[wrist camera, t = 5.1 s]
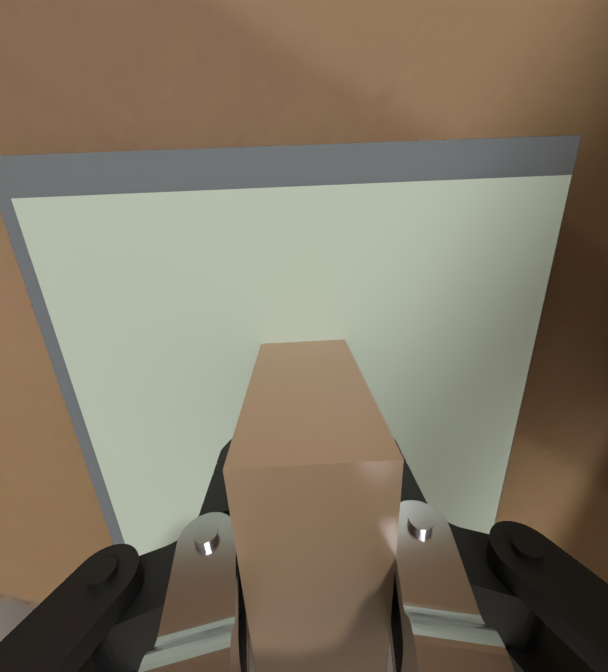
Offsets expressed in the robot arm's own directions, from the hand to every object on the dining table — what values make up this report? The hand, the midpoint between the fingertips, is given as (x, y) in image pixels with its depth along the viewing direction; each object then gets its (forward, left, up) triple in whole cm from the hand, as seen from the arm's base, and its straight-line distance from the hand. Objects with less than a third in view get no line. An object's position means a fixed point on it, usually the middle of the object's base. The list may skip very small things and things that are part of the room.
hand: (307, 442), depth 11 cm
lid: (0, 0, -2) cm, 2 cm away
